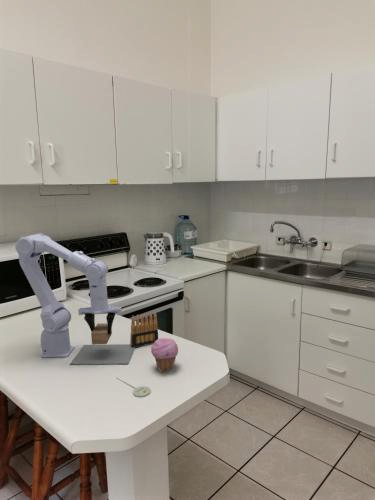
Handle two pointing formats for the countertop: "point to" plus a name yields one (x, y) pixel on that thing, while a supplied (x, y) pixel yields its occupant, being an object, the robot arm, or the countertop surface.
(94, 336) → the card box
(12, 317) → the countertop surface
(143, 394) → the sign
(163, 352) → the cupcake
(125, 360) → the mat
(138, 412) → the countertop surface
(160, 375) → the countertop surface
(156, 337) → the ammunition clip
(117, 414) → the countertop surface
